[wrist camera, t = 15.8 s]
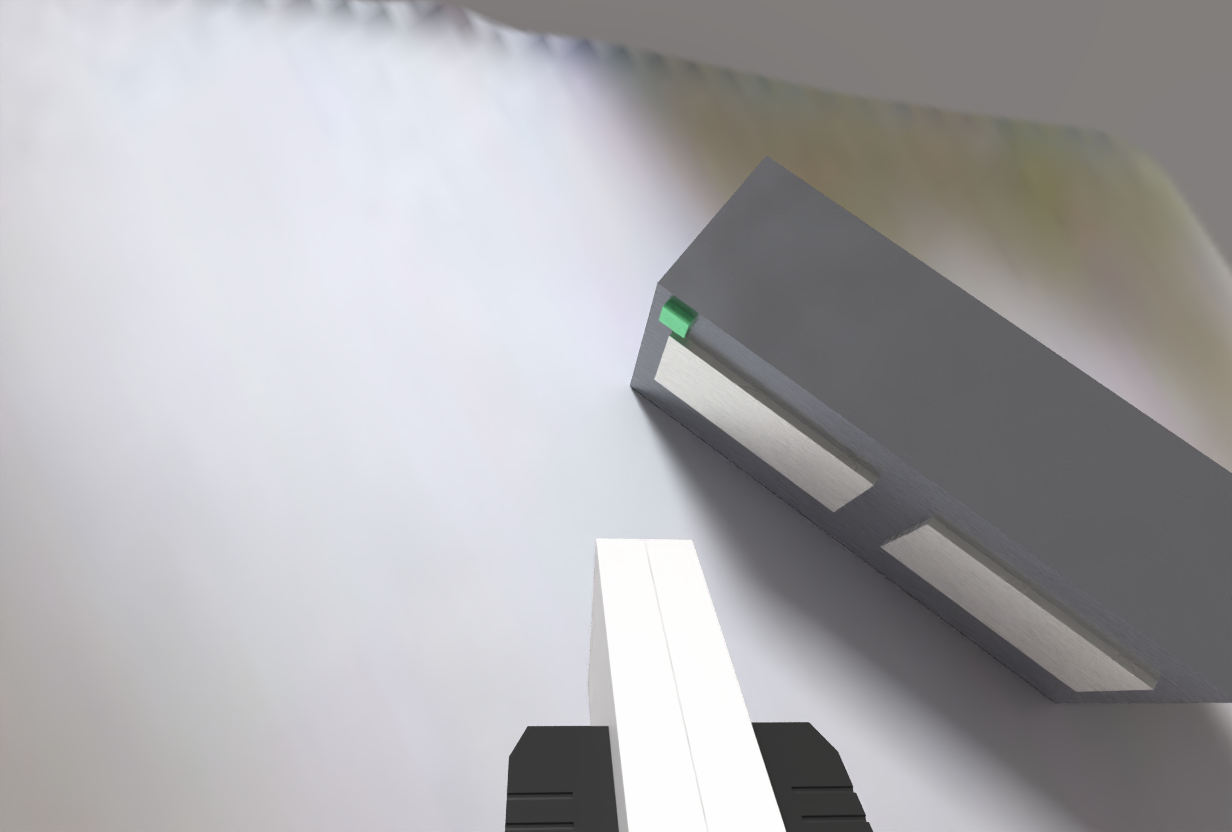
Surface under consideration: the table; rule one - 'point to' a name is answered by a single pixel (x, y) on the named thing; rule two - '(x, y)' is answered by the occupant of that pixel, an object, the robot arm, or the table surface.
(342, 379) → the table surface
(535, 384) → the table surface
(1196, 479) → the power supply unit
